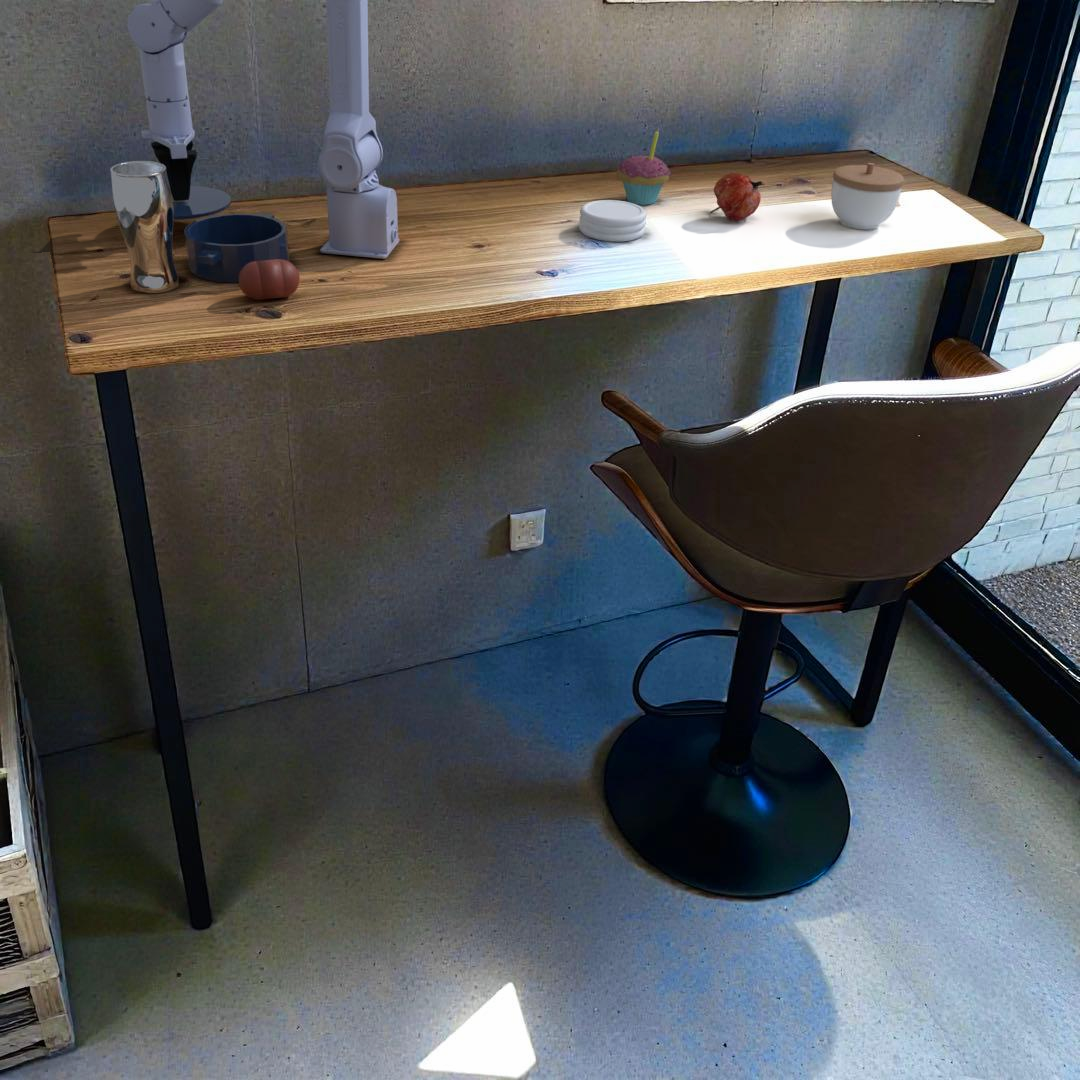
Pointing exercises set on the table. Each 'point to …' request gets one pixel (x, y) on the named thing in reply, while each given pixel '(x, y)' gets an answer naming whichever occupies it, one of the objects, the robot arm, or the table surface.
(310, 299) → the table surface
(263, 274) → the red ribbed oval
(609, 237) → the coaster
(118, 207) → the beer glass
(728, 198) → the pomegranate
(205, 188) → the pan lid
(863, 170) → the lidded sugar bowl
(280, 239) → the pan
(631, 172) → the cupcake
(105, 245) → the table surface
